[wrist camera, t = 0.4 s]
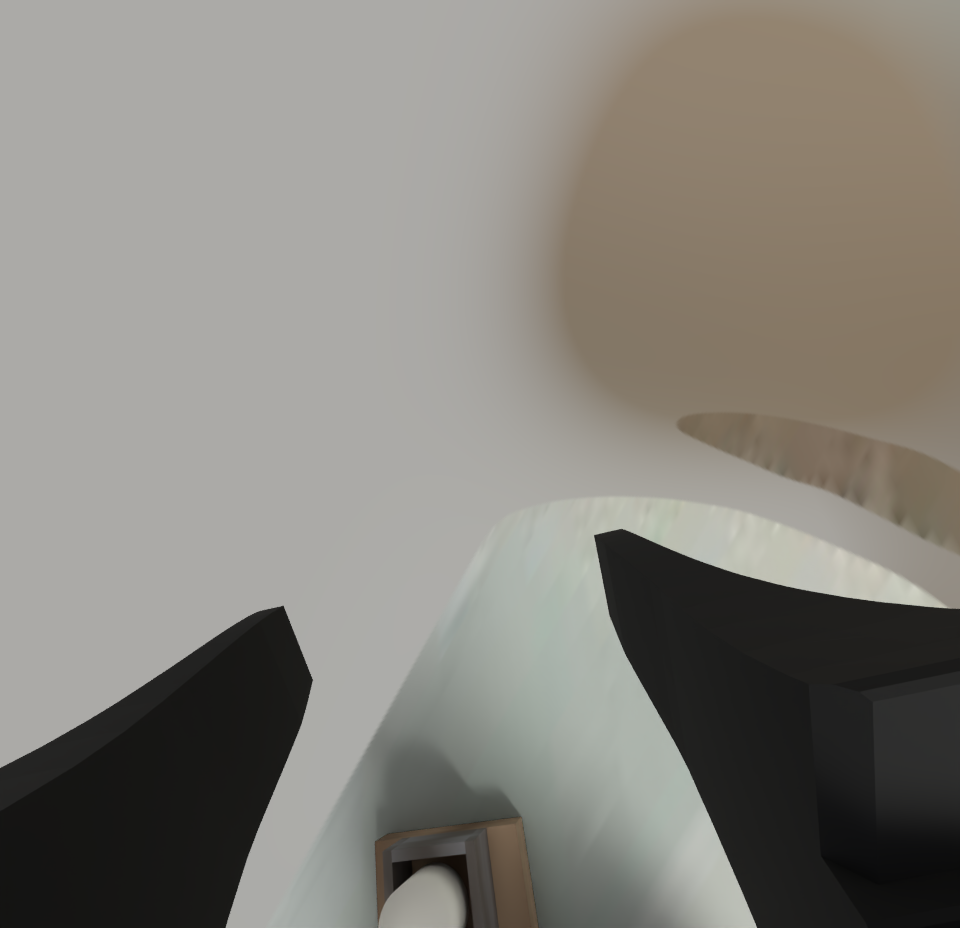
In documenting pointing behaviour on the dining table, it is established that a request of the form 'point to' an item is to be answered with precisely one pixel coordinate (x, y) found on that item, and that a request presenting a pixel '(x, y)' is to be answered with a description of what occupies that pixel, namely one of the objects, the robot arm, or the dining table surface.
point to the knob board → (467, 868)
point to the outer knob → (428, 900)
